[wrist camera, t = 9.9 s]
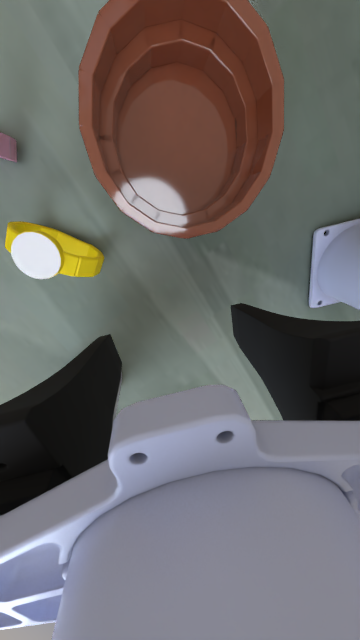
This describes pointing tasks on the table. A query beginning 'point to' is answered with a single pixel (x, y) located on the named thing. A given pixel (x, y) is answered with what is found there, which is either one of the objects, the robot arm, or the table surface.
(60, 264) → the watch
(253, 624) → the robot arm
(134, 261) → the table surface
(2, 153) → the decorative key
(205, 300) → the table surface
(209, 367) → the table surface
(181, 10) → the bowl
